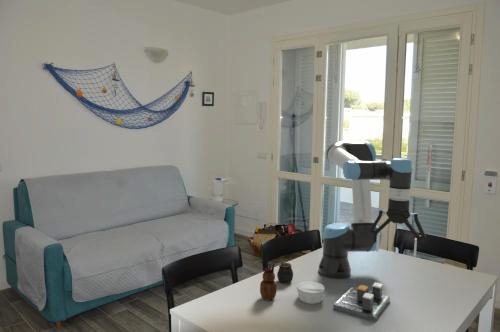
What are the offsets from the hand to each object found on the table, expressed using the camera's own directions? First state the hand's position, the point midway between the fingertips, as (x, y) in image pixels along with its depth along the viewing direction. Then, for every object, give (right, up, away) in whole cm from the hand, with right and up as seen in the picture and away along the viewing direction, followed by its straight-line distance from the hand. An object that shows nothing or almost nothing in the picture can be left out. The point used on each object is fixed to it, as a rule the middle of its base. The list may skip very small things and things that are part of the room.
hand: (395, 253), depth 151 cm
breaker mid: (-12, -19, +3) cm, 23 cm away
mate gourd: (-41, -19, +25) cm, 51 cm away
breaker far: (-5, -19, +6) cm, 20 cm away
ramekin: (-32, -21, +8) cm, 39 cm away
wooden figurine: (-49, -20, +8) cm, 54 cm away
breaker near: (-12, -20, -4) cm, 23 cm away
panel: (-12, -21, +3) cm, 25 cm away
